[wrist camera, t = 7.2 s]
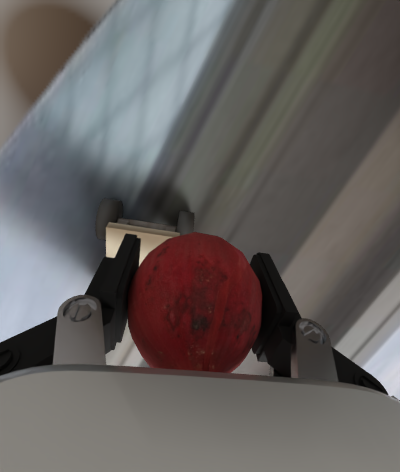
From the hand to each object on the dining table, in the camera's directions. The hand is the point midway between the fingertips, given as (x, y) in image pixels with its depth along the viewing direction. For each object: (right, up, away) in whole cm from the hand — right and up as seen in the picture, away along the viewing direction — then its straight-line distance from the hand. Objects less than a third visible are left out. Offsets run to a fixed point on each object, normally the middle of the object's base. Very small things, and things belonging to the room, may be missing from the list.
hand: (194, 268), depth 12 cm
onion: (0, +1, +1) cm, 2 cm away
